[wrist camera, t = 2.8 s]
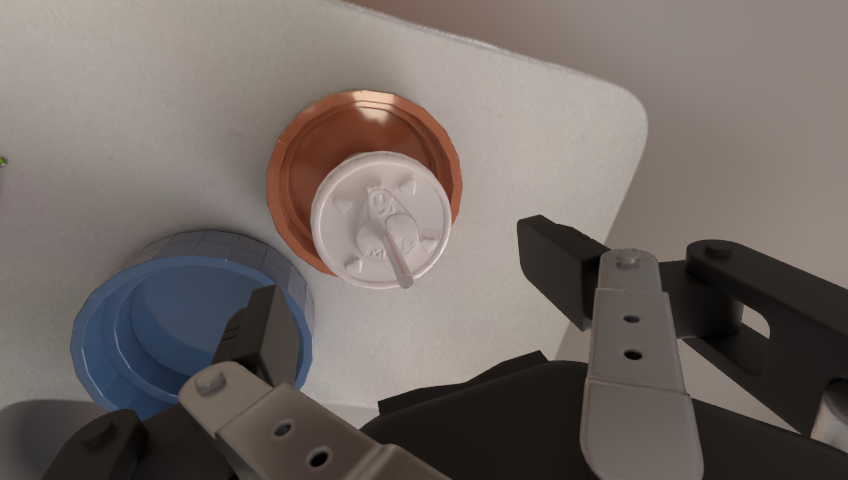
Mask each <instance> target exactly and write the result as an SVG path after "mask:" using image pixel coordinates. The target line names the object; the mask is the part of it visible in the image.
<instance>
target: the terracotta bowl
mask: <svg viewBox="0 0 848 480" xmlns="http://www.w3.org/2000/svg"><path fill="white" fill-rule="evenodd" d="M375 151H388V152H395V153H401V154H404V155H406V156H408V157H410V158H413V159H415V160H417V161H419V162H420V163H421V164H422V165H424V166H425V167H426V168H427V169H428V170H430V171H431V172H432V173H433V175H434V176H435V178H436V179H437V180H438V181H439V183H440V184H441V186H442V187H443V189H444V191H445V193H446V195H447V198H448V200H449V204H450V209H451V227H452V225H453V223H454V221H455V219H456V217H457V215H458V212H459V206H460V200H461V194H462V187H463V186H462V185H463V184H462V177H461V170H460V163H459V158H458V155H457V153H456V151H455V149H454V147H453V144H452V142H451V140H450V138H449V136H448V134H447V132H446V131H445V129H444V128H443V127H442V126H441V125H440V124H439V123H438V122H437V121H436V120H435V119H434V118H433V117H432V116H431V115H430V114H429V113H428V112H427V111H426V110H425V109H424V108H422V107H420V106H418V105H416V104H414V103H412V102H410V101H409V100H407V99H405V98H403V97H401V96H399V95H397V94H394V93H387V92H380V91H372V90H365V89H351V90H346V91H341V92H336V93H331V94H328V95H325V96H324V97H322V98H320V99H319V100H317V101H315V102H314V103H312V104H310V105H309V106H307V107H305V108H304V109H303V110H301V111H300V113H299V114H298V115H297V116H296V117H295V119H294V120H293V121H292V122H291V124H290V125H289V126H288V127H287V128H286V130H285V131H284V132H283V133H282V135H281V136H280V137H279V138H278V140H277V143H276V145H275V148H274V151H273V154H272V157H271V159H270V162H269V165H268V168H267V204H268V207H269V210H270V212H271V215H272V218H273V221H274V224H275V226H276V229H277V231H278V233H279V234H280V235H281V237H282V238H283V239H284V241H285V242H286V243H287V244H288V246H289V247H290V248H291V249H292V251H293V252H294V253H295V254H296V255H297V256H298V257H299V258H301V259H302V260H304V261H305V262H307V263H308V264H310V265H311V266H313V267H314V268H316V269H317V270H319V271H321V272H323V273H326V274H330V275H333V276H336V277H338V276H337V275H335V274H334V273H333V272H332V271H331V270H330V269H329V268H328V267H327V266H326V265H325V264H324V262H323V261H322V259H321V258H320V256H319V254H318V252H317V250H316V248H315V245H314V241H313V237H312V230H311V225H310V218H311V206H312V202H313V200H314V197H315V195H316V192H317V189H318V187H319V186H320V184H321V183H322V182H323V180H324V179H325V178H326V176H327V175H328V174H329V172H330V171H332V170H333V169H334V168H336V167H337V166H338V165H340V163H341V162H342V161H343V160H344V159H345V158H346V157H348V156H349V155H351V154H354V153H357V152H375Z"/></svg>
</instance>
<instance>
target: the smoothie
mask: <svg viewBox="0 0 848 480" xmlns="http://www.w3.org/2000/svg"><path fill="white" fill-rule="evenodd" d="M310 225H311V230H312V237H313V241H314V245H315V248H316V250H317V252H318V254H319V256H320V258H321V259H322V261H323V262H324V264H325V265H326V266H327V267H328V268H329V269H330V270H331V271H332V272H333V273H334V274H335V275H337V276H338V277H340V278H341V279H343V280H344V281H346V282H348V283H351V284H353V285H356V286H359V287H363V288H369V289H388V288H394V287H398V286H400V287H402V288H409V287H411V286H412V284H413V282H414V280H415V279H417V278H418V277H420V276H421V275H423V274H424V273H425V272H427V271H428V270H429V269H430V268H431V267H432V266H433V265H434V264H435V263H436V261H437V260H438V259H439V257H440V256H441V254H442V252H443V251H444V249H445V247H446V244H447V242H448V239H449V235H450V230H451V209H450V204H449V200H448V198H447V195H446V193H445V191H444V189H443V187H442V186H441V184H440V183H439V181H438V180H437V179H436V178H435V176H434V175H433V173H432V172H431V171H430V170H428V169H427V168H426V167H425V166H424V165H422V164H421V163H420V162H419V161H417V160H415V159H413V158H410V157H408V156H406V155H404V154H401V153H395V152H388V151H375V152H357V153H354V154H351V155H349V156H348V157H346V158H345V159H344V160H343V161H342V162H341V163H340V165H338V166H337V167H336V168H334V169H333V170H332V171H330V172H329V174H328V175H327V176H326V178H325V179H324V180H323V182H322V183H321V184H320V186H319V187H318V189H317V192H316V195H315V197H314V200H313V202H312V206H311V218H310Z"/></svg>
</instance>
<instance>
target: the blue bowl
mask: <svg viewBox="0 0 848 480" xmlns="http://www.w3.org/2000/svg"><path fill="white" fill-rule="evenodd" d="M277 283H278V284H279V285H280V287H281V288H282V291H283V293H284V296H285V299H286V301H287V304H288V307H289V309H290V312H291V315H292V317H293V320H294V323H295V325H296V329H297V333H298V340H299V345H298V355H297V365H296V375H295V385H294V388H296V389H298V390H300V389H301V387H302V386H303V385H304V383H305V381H306V378H307V375H308V372H309V369H310V367H311V364H312V360H313V338H314V303H313V300H312V297H311V294H310V291H309V288H308V286H307V283H306V281H305V280H304V279H303V277H302V276H301V275H300V273H299V272H298V271H297V269H296V268H295V267H294V265H293V264H292V263H291V262H290V261H289V260H288V259H286V258H285V257H284V256H282V255H281V254H280V253H278V252H277V251H275V250H274V249H273V248H271V247H270V246H268V245H266V244H263V243H261V242H258V241H256V240H253V239H251V238H248V237H246V236H243V235H240V234H235V233H227V232H220V231H213V230H206V231H196V232H187V233H178V234H175V235H172V236H169V237H167V238H164V239H162V240H159V241H156V242H154V243H151V244H149V245H148V246H146V247H144V248H143V249H142V250H141V251H139V252H138V253H137V254H135V255H134V256H133V257H132V258H130V259H129V260H128V261H127V262H125V263H124V264H123V265H122V266H121V267H120V268H119V269H118V270H116V271H115V272H114V273H113V274H112V275H111V276H110V277H109V278H108V279H106V280H105V281H104V282H103V283H102V284H101V285H100V286H99V287H98V288H97V289H95V290H94V291H93V292H92V293H91V294H90V296H89V297H88V299H87V301H86V302H85V304H84V305H83V307H82V308H81V310H80V312H79V313H78V315H77V316H76V318H75V320H74V326H73V332H72V338H71V344H70V351H71V356H72V360H73V364H74V368H75V372H76V375H77V377H78V379H79V380H80V382H81V383H82V385H83V386H84V388H85V389H86V391H87V392H88V393H89V395H90V396H91V398H92V399H93V400H94V401H95V402H96V403H97V404H98V405H100V406H101V407H102V408H104V409H105V410H106V411H107V412H109V413H110V412H112V411H116V410H120V409H132V410H134V411H135V412H136V413H137V415H138V416H139V418H140V419H141V421H143V420H145V419H147V418H149V417H151V416H153V415H155V414H157V413H159V412H161V411H163V410H166V409H168V408H170V407H171V406H173V405H175V404H177V403H179V400H178V394H179V391H180V389H181V388H182V386H183V385H184V384H185V383H186V382H187V381H188V380H189V379H190V378H191V377H192V376H194V375H195V374H196V373H198V372H199V371H201V370H203V369H205V368H207V367H209V366H210V364H211V362H212V359H213V357H214V355H215V352H216V350H217V347H218V345H219V342H221V341H220V340H221V337H222V335H223V333H224V330H225V327H226V325H227V323H228V320H229V319H230V318H231V317H232V316H233V315H234V314H235V313H236V312H237V311H238V310H239V309H243V308H246V307H247V305H248V303H249V300H250V297H251V294H252V291H253V290H254V289H258V288H262V287H266V286H269V285H273V284H277Z"/></svg>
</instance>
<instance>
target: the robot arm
mask: <svg viewBox="0 0 848 480" xmlns="http://www.w3.org/2000/svg"><path fill="white" fill-rule="evenodd" d="M517 235H518V246H519V256H520V264H521V268H522V271H523V273H524V275H525V277H526V278H527V279H528V280H529V281H530V282H531V283H532V284H533V285H534V286H535V287H536V288H537V289H538V290H539V291H540V292H541V293H542V294H543V295H544V296H545V297H546V298H548V299H549V300H550V301H551V302H552V303H553V304H554V305H555V306H556V307H557V308H558V309H559V310H560V311H561V312H562V313H563V314H564V315H565V316H566V317H567V318H568V319H569V320H570V321H571V322H573V323H574V324H575V325H576V326H577V327H578V328H579V329H580V330H581V331H582V332H584V331H587V330H590V329H592V330H591V341H590V352H589V362H588V364H587V363H582V362H576V361H565V360H560V361H559V360H558V361H557V360H556V361H548V360H547V359H546V357H545V356H544V355H543V354H542V352H541V351H540V350H538V351H535V352H532V353H529V354H526V355H523V356H519V357H516V358H513V359H510V360H507V361H504V362H501V363H499V364H497V365H496V366H494V367H492V368H490V369H489V370H487V371H485V372H483V373H482V374H480V375H478V376H476V377H474V378H473V379H471V380H469V381H467V382H465V383H460V384H452V385H443V386H434V387H426V388H419V389H415V390H412V391H409V392H406V393H403V394H400V395H396V396H393V397H390V398H387V399H384V400H381V401H378V407H379V412H380V415H379V416H377V417H375V418H374V419H372V420H371V421H370V422H368V423H367V424H365V425H364V426H363V427H362V428H360V429H359V430H358V429H356V428H355V427H353V426H351V425H350V424H349V423H347V422H346V421H344V420H343V419H341V418H340V417H338V416H337V415H335V414H334V413H332V412H331V411H329V410H328V409H326V408H325V407H323V406H322V405H320V404H319V403H317V402H316V401H314V400H313V399H311V398H310V397H308V396H307V395H305V394H304V393H302V392H301V391H299V390H298V389H296V388H294V385H295V375H296V365H297V355H298V345H299V340H298V333H297V329H296V325H295V323H294V320H293V317H292V315H291V312H290V309H289V307H288V304H287V301H286V299H285V296H284V293H283V291H282V288H281V287H280V285H279V284H278V283H277V284H273V285H269V286H266V287H262V288H258V289H254V290H253V291H252V294H251V297H250V300H249V303H248V305H247V307H246V308H243V309H239V310H238V311H237V312H236V313H235V314H234V315H233V316H232V317H231V318H230V319H229V320H228V323H227V325H226V327H225V330H224V333H223V335H222V337H221V340H220V341H221V342H219V345H218V347H217V350H216V352H215V355H214V357H213V359H212V362H211V364H210V366H209V367H207V368H205V369H203V370H201V371H199V372H198V373H196V374H195V375H194V376H192V377H191V378H190V379H189V380H188V381H187V382H186V383H185V384H184V385H183V386H182V388H181V389H180V391H179V394H178V400H179V403H177V404H175V405H173V406H171V407H170V408H168V409H166V410H163V411H161V412H159V413H157V414H155V415H153V416H151V417H149V418H147V419H145V420H143V421H141V419H140V418H139V416H138V415H137V413H136V412H135V411H134V410H132V409H120V410H116V411H112V412H110V413H107V414H105V415H103V416H100V417H99V418H97V419H95V420H93V421H92V422H90V423H88V424H87V425H85V426H84V427H82V428H81V429H80V430H79V431H77V432H76V433H75V434H74V435H73V436H72V437H71V438H70V439H69V440H68V441H67V442H66V443H65V444H64V446H63V447H62V448H61V450H60V452H59V453H58V455H57V456H56V458H55V459H54V461H53V462H52V464H51V465H50V467H49V468H48V470H47V471H46V473H45V474H44V476H43V477H42V479H41V480H848V290H847V289H845V288H843V287H840V286H838V285H836V284H833V283H831V282H828V281H826V280H824V279H822V278H819V277H816V276H814V275H812V274H810V273H807V272H805V271H803V270H800V269H798V268H796V267H793V266H791V265H788V264H786V263H784V262H781V261H779V260H777V259H774V258H772V257H770V256H767V255H765V254H762V253H760V252H758V251H755V250H753V249H751V248H748V247H746V246H744V245H741V244H738V243H735V242H731V241H725V240H700V241H696V242H694V243H691V244H690V245H688V246H687V250H686V260H680V261H670V262H658V260H657V258H656V257H655V256H654V255H652V254H650V253H648V252H646V251H642V250H638V249H629V248H626V249H625V248H624V249H615V250H611V249H609V248H607V247H605V246H604V245H602V244H600V243H599V242H597V241H595V240H594V239H590V237H588V236H587V235H585V234H582V233H581V232H580V231H578V230H576V229H574V228H573V227H569V226H565V225H561V224H556V223H554V222H552V221H551V220H549V219H547V218H546V217H544V216H542V215H536V216H532V217H528V218H524V219H521V220H519V221H518V222H517ZM744 305H746V306H748V307H750V308H751V309H753V310H755V311H757V312H758V313H760V314H761V315H762V316H763V317H764V318H765V319H766V321H767V322H768V325H769V327H770V337H769V339H768V338H766V337H765V336H763V335H761V334H760V333H758V332H756V331H755V330H753V329H752V328H750V327H748V326H747V325H745V324H744V323H742V322H741V320H742V314H743V308H744ZM677 339H682V340H683V341H684V342H685V343H686V344H688V345H689V346H690V347H691V348H693V349H694V350H695V351H696V352H698V353H699V354H700V355H702V356H703V357H704V358H705V359H707V360H708V361H709V362H710V363H712V364H713V365H714V366H716V367H717V368H718V369H719V370H721V371H722V372H723V373H725V374H726V375H727V376H728V377H730V378H731V379H732V380H733V381H735V382H736V383H737V384H738V385H740V386H741V387H742V388H743V389H745V390H746V391H747V392H749V393H750V394H751V395H752V396H754V397H755V398H756V399H757V400H759V401H760V402H761V403H763V404H764V405H765V406H766V407H768V408H769V409H770V410H771V411H773V412H774V413H775V414H777V415H778V416H779V417H780V418H782V419H783V420H784V421H785V422H787V423H788V424H789V425H790V426H792V427H793V428H794V429H795V430H797V431H798V432H800V433H801V434H802V435H801V434H798V433H795V432H792V431H789V430H786V429H783V428H780V427H777V426H774V425H771V424H768V423H765V422H762V421H759V420H756V419H753V418H750V417H747V416H744V415H741V414H738V413H735V412H732V411H730V410H726V409H724V408H721V407H718V406H715V405H711V404H709V403H705V402H702V401H700V400H697V399H693V398H691V397H690V395H689V394H688V393H687V392H686V389H685V384H684V378H683V373H682V367H681V362H680V356H679V350H678V345H677Z"/></svg>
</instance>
